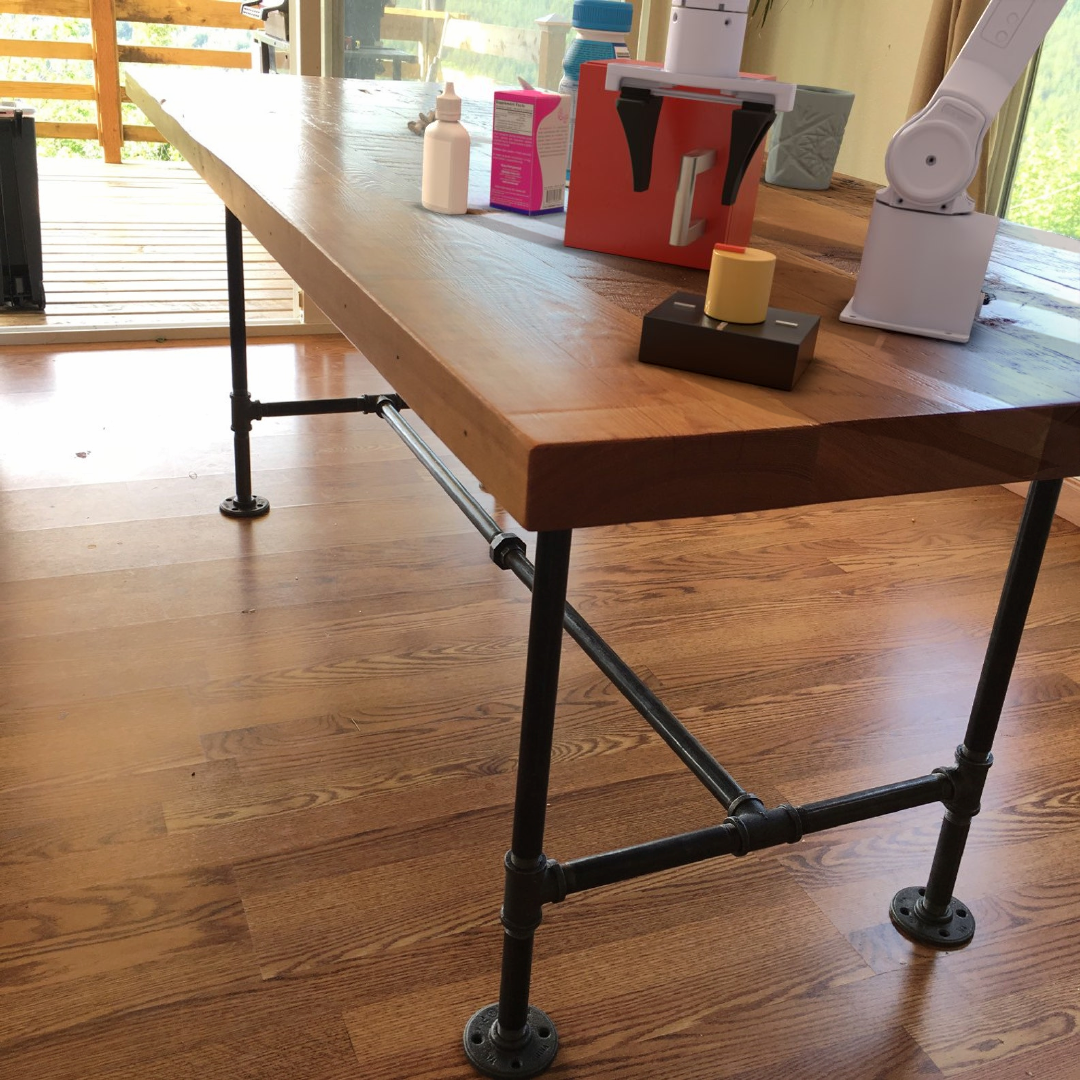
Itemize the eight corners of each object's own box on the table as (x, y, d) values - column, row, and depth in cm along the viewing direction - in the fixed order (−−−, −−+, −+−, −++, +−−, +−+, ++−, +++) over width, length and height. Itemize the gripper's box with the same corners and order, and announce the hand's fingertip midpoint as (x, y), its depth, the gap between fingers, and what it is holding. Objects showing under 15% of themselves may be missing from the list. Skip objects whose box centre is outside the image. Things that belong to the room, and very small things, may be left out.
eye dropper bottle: (422, 214, 110) (427, 83, 104) (421, 203, 115) (425, 77, 109) (467, 217, 110) (474, 86, 105) (463, 206, 115) (470, 81, 110)
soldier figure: (393, 139, 163) (412, 104, 172) (417, 163, 165) (435, 128, 174) (428, 105, 159) (446, 71, 167) (453, 130, 161) (469, 96, 169)
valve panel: (812, 359, 76) (822, 313, 75) (790, 392, 69) (799, 342, 68) (672, 332, 79) (678, 287, 78) (637, 361, 72) (643, 313, 71)
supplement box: (521, 202, 120) (530, 88, 115) (565, 212, 117) (575, 95, 112) (485, 207, 116) (493, 88, 111) (529, 217, 113) (539, 96, 108)
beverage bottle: (559, 189, 130) (576, -2, 121) (544, 176, 137) (559, -4, 128) (629, 192, 132) (650, 5, 123) (610, 180, 139) (629, 2, 130)
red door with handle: (699, 287, 91) (729, 86, 85) (535, 258, 96) (550, 65, 89) (722, 270, 98) (751, 82, 91) (567, 243, 102) (584, 62, 96)
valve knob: (771, 313, 74) (782, 248, 72) (758, 327, 71) (770, 259, 69) (712, 303, 75) (722, 238, 73) (697, 316, 72) (707, 248, 70)
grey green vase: (761, 174, 155) (777, 81, 150) (835, 183, 154) (853, 89, 148) (759, 184, 146) (775, 86, 141) (838, 194, 145) (857, 95, 140)
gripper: (815, 19, 85) (783, 203, 91) (633, 2, 89) (614, 178, 95) (798, 19, 79) (765, 216, 85) (604, 0, 83) (586, 188, 89)
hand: (683, 197), depth 90 cm, fingers open, 7 cm apart
